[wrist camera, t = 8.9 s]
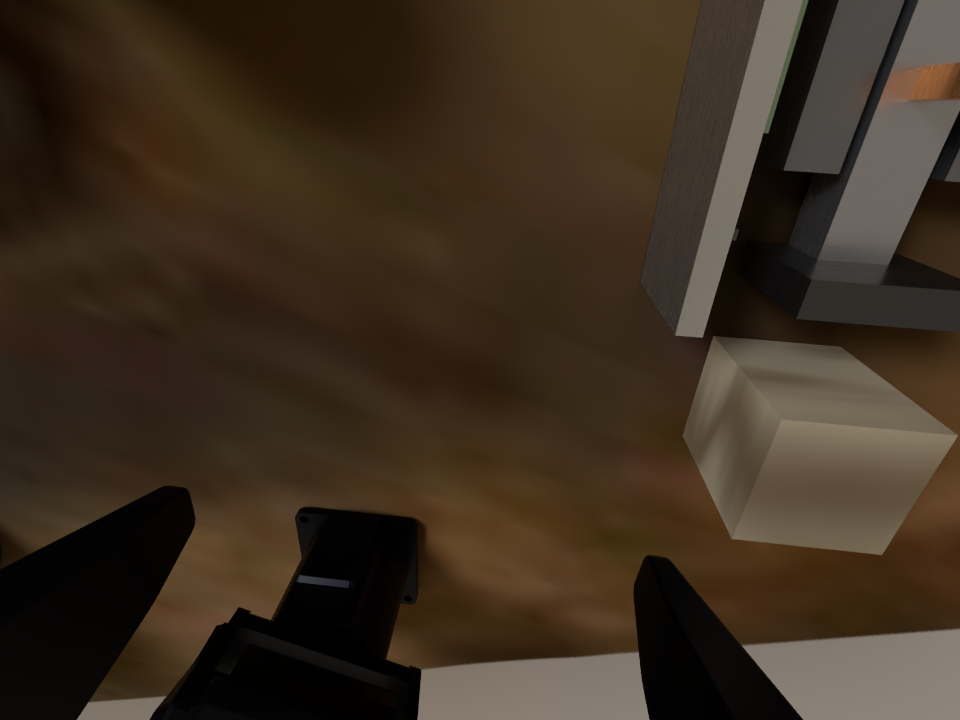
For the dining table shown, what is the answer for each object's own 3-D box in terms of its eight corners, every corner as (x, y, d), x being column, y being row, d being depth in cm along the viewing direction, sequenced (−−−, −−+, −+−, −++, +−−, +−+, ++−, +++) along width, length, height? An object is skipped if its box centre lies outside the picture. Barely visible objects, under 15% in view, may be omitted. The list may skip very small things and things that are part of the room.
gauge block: (795, 445, 22) (882, 555, 16) (682, 435, 22) (731, 539, 17) (839, 346, 19) (958, 435, 14) (713, 335, 20) (781, 419, 14)
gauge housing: (880, 300, 18) (992, 362, 14) (640, 281, 19) (675, 335, 14) (1107, -182, 12) (1434, -345, 8) (743, -192, 13) (858, -352, 8)
